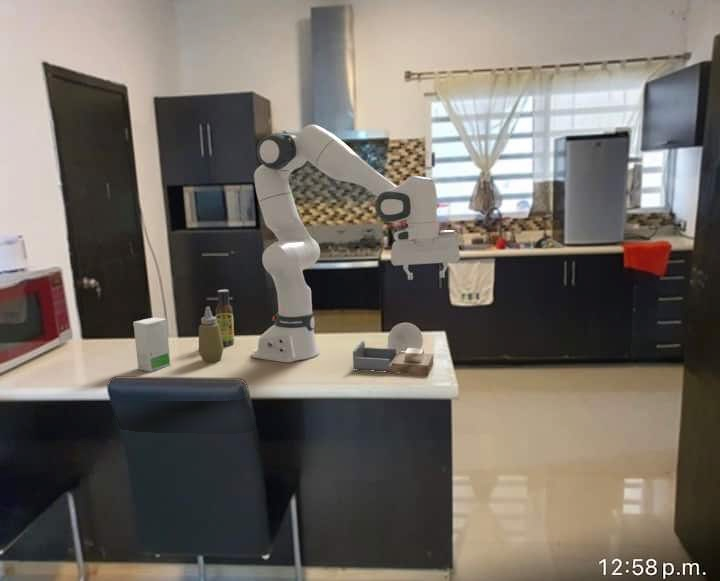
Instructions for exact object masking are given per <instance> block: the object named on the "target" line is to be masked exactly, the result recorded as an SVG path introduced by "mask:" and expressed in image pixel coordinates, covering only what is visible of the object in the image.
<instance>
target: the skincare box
mask: <svg viewBox="0 0 720 581" xmlns="http://www.w3.org/2000/svg"><path fill="white" fill-rule="evenodd" d="M132 325H133V331H134V340H135V341H134V342H135V350H136V358H137V359H136V361H137V369H138V370H141V371H145V372H148V373H149V372H154V371H157V370H160V369H163V368H166V367H169V366H172V365H171V364H172V363H171V356H170V345H169V335H168V333H169V332H168V324H167V318H161V317H156V316H155V317H154V316H153V317H150V318H149V317H148V318H145V319H141V320H136V321H133V324H132Z"/></svg>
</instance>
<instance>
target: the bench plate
mask: <svg viewBox="0 0 720 581" xmlns="http://www.w3.org/2000/svg"><path fill="white" fill-rule="evenodd" d="M433 364H434V354H433V353H424V357H423V359H422V361H421V362H418V361H405V352H399V353H398V354H397V356H396V357H395V359H394V360H393V362H392V372H400V373H399V374H403V373H410V374H409V375H418V376H419V375H420V376H428V375H429V374H430V372H431V370H432V367H433Z"/></svg>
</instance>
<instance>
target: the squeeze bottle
mask: <svg viewBox="0 0 720 581" xmlns="http://www.w3.org/2000/svg"><path fill="white" fill-rule="evenodd" d="M204 310H205V311H204V316H203V317H201V319H200V320H201V324H200V325H199V326H198V353H199V355H200V357H201V360H202V361H203V362H205V363H214V362H218V361H220V360H222V357H223V353H224V347H225V346H223V341H222V336H221V331H220V325H219V324H218V323H216V317H215V316H213V313H212V311H211V308H210V306H206V307H205V309H204Z"/></svg>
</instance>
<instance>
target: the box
mask: <svg viewBox="0 0 720 581" xmlns="http://www.w3.org/2000/svg"><path fill="white" fill-rule="evenodd" d="M396 356H397V354H396V349H390V348H386V347H370V346H369V347H368V346H366V343H365V340H362V341H361V342H360V343H359V344H358V345H357V346H356V348H354V349H353V351H352V364H353V368H352V369H355V370H354V371H358V370H374V371H386V372H385V373H388V372H392V362H393V360H394V359H395V357H396ZM356 369H357V370H356Z"/></svg>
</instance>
